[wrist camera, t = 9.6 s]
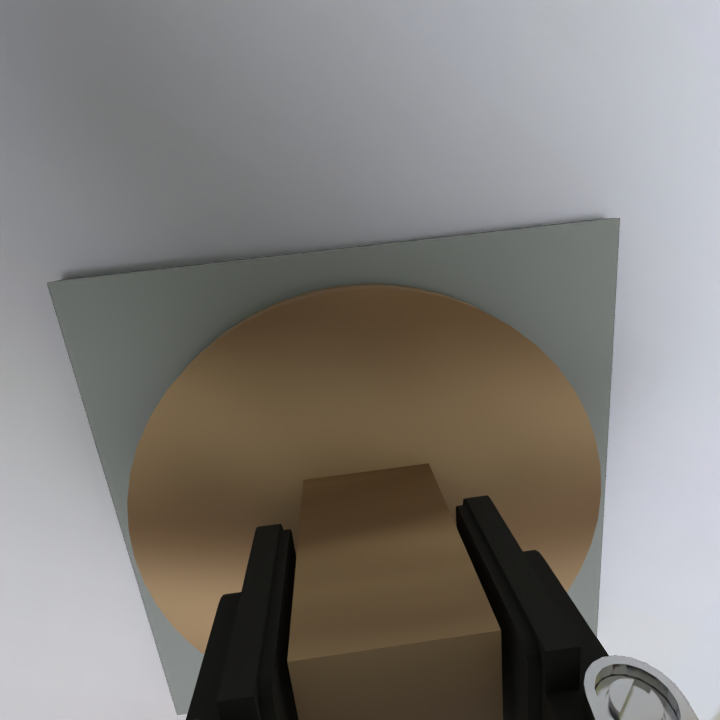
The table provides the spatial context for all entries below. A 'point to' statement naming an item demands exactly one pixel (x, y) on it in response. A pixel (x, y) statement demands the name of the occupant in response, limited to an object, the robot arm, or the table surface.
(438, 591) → the lid
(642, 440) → the table surface
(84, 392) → the mat
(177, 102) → the table surface
